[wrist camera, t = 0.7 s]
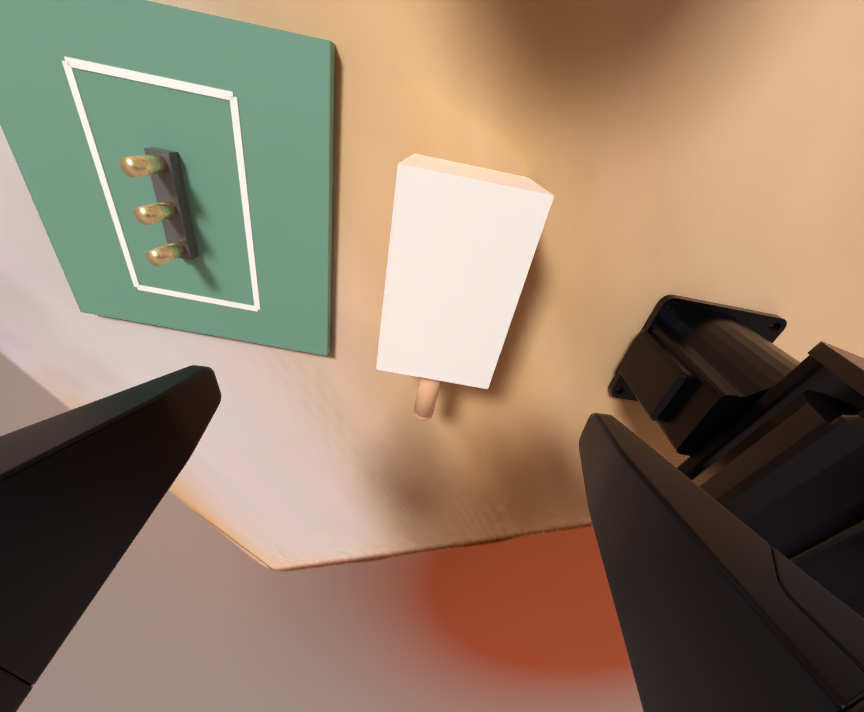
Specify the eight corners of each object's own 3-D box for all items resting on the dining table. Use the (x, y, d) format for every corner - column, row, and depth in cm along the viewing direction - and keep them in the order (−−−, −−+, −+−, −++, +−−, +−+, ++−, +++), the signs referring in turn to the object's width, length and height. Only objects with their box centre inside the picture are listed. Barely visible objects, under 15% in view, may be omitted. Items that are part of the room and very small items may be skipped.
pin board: (335, 44, 13) (308, 26, 11) (330, 350, 21) (314, 378, 18) (-53, -41, 12) (-170, -80, 10) (90, 307, 20) (42, 330, 18)
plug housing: (527, 177, 15) (554, 195, 11) (467, 381, 21) (469, 442, 17) (414, 153, 15) (398, 163, 11) (387, 367, 21) (370, 425, 17)
